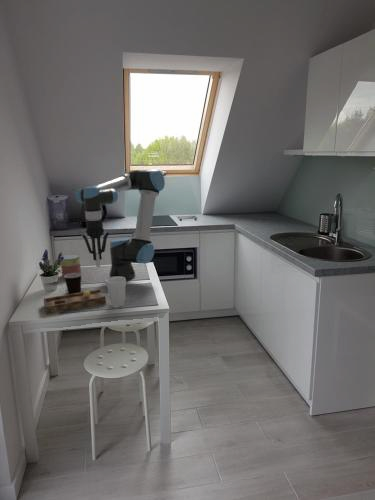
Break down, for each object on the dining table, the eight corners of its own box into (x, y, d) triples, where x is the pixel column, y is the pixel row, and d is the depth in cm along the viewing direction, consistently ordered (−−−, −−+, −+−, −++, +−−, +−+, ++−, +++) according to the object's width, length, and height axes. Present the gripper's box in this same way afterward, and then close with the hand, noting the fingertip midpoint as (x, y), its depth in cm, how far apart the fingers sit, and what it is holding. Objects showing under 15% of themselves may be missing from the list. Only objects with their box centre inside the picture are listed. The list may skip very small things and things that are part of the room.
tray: (100, 295, 203) (100, 289, 202) (105, 303, 192) (105, 296, 191) (44, 305, 192) (43, 298, 191) (46, 314, 181) (45, 307, 180)
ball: (89, 296, 196) (89, 289, 195) (91, 298, 193) (90, 291, 192) (82, 297, 195) (82, 290, 194) (84, 299, 192) (83, 292, 191)
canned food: (64, 273, 243) (62, 254, 240) (83, 272, 243) (81, 253, 240) (60, 279, 232) (57, 259, 229) (79, 278, 232) (77, 258, 229)
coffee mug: (78, 296, 203) (76, 278, 200) (63, 295, 205) (61, 277, 202) (88, 288, 214) (86, 271, 211) (73, 288, 216) (71, 270, 213)
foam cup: (118, 309, 184) (116, 284, 181) (104, 306, 189) (101, 280, 186) (131, 303, 192) (129, 278, 189) (117, 299, 197) (115, 275, 194)
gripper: (105, 217, 192) (109, 262, 198) (78, 219, 187) (83, 266, 193) (109, 219, 186) (112, 266, 192) (81, 221, 181) (86, 270, 187)
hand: (98, 266), depth 192 cm, fingers closed
